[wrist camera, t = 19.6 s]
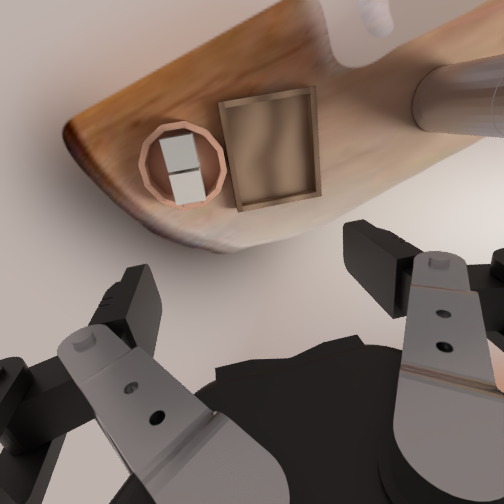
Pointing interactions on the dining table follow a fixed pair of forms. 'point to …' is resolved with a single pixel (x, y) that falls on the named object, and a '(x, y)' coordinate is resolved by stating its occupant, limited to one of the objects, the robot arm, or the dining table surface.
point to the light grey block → (180, 152)
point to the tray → (272, 147)
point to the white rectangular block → (188, 185)
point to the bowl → (157, 170)
